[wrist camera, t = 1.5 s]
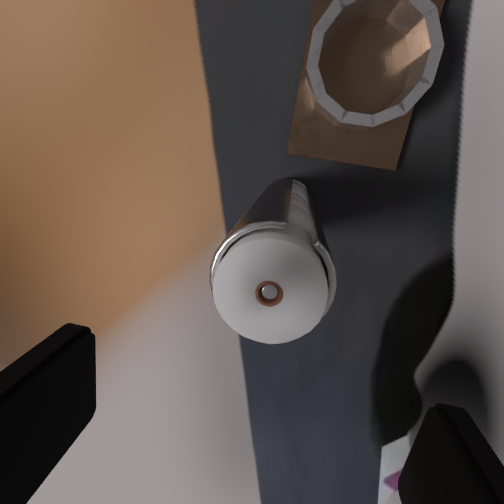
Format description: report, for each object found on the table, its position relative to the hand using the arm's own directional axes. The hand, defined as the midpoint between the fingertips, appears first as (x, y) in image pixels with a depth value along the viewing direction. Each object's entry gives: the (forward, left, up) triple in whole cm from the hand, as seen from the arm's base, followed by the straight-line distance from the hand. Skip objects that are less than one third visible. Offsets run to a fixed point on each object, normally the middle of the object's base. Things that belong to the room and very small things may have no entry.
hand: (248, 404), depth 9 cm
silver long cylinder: (0, 0, -32) cm, 32 cm away
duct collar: (-15, +5, -32) cm, 35 cm away
